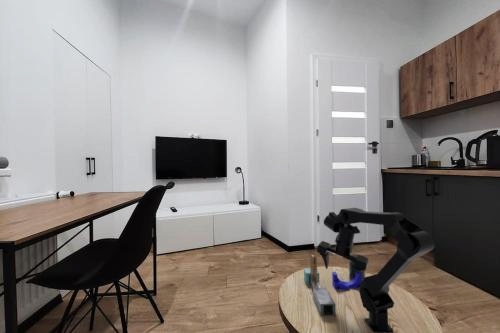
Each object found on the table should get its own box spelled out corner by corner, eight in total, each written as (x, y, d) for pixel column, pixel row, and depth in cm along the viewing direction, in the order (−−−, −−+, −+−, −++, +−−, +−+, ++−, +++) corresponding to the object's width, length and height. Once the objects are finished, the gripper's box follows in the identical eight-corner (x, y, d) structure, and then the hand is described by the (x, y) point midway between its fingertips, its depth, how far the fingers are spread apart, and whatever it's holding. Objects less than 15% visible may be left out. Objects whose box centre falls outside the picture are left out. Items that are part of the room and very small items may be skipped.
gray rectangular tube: (335, 315, 88) (335, 303, 88) (320, 315, 88) (320, 304, 88) (326, 297, 100) (325, 287, 100) (313, 298, 100) (312, 287, 100)
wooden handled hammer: (325, 300, 97) (324, 266, 97) (317, 300, 97) (316, 266, 97) (314, 279, 115) (313, 251, 115) (308, 279, 115) (307, 251, 115)
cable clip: (335, 289, 107) (334, 276, 107) (332, 284, 111) (332, 271, 111) (363, 290, 106) (363, 276, 106) (359, 285, 110) (359, 272, 110)
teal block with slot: (319, 283, 112) (319, 273, 112) (306, 284, 112) (306, 273, 112) (316, 279, 117) (316, 268, 117) (304, 279, 117) (303, 268, 117)
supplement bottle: (346, 279, 116) (345, 254, 116) (357, 277, 118) (356, 252, 118) (357, 286, 109) (356, 259, 109) (368, 283, 112) (367, 256, 112)
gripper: (374, 239, 96) (366, 273, 100) (327, 223, 106) (321, 255, 110) (370, 251, 87) (361, 288, 91) (319, 233, 97) (313, 267, 101)
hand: (338, 273), depth 98 cm, fingers open, 9 cm apart
